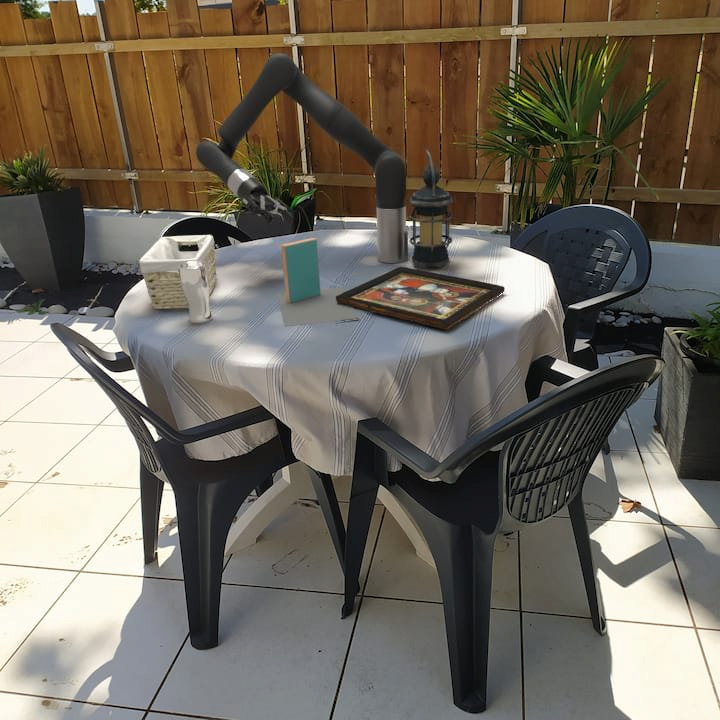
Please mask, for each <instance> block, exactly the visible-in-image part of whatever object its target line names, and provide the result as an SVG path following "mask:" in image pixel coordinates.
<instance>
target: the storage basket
mask: <svg viewBox="0 0 720 720" xmlns="http://www.w3.org/2000/svg"><path fill="white" fill-rule="evenodd" d="M194 245H195V246H196V245H197V248H198V250H196V251H193V250H192V251H180V249H179V246H194ZM215 248H216V247H215V240H214V236H213V235H212V234H202V235H201V234H200V235H199V234H197V235H196V234H195V235H176V236H162V237H160V238H159V239H158V240H157V241H156V242H155V243H154V244H153V245H152V246H151V247H150V249H149V250H147V252H146V253H144V255H143V256H141V258H140V259H139V261H138V262H139V267H140V272H141V274H142V276H143V279H144V282H145V287H146V289H147V294H148V296H149V298H150V301H151V305H152V308H153V309H155V310H163V309H165V310H169V309H189V307H188V304H187V301H186V298H185V295H184V292H183V289H182V286H181V280H180V270H179V265H180V264H182V263H184V262H189V261H203V262H205V265H206V269H207V273H208V279H209V296H211V293H212V292H213V289H214V287H215V285H216V283H217V281H218V280H219V279H218V277H217V276H218V275H217V267H216V258H215V253H216V251H215V250H216V249H215Z"/></svg>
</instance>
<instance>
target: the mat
mask: <svg viewBox="0 0 720 720" xmlns="http://www.w3.org/2000/svg"><path fill="white" fill-rule="evenodd" d="M343 292H346V290H345V289H344V287H336V288H335V287H334V288H324V289H323V288H322V289H320V293H321V295H318V296H315V297H311V298H307V299H304V300H300V301H297V302H293V303H288V302H286V292H285V293H277V294H276V295H277V300H278V305H279V309H280V312H281V317H282V321H283V322H282V323H283V327H293V326H302V325H303V326H304V325H309V324H310V325H312V324H317V323H318V324H319V323H320V324H321V323H328V322H329V323H331V322H338V321H345V320H353V319H359V316H358V314H357V312H356V310H355V307H353V306H349V305H345V304H341V303H338V302H337V301H336V296H338V295H340V294H342V293H343ZM359 320H360V319H359Z"/></svg>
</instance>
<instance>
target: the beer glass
mask: <svg viewBox="0 0 720 720" xmlns="http://www.w3.org/2000/svg"><path fill="white" fill-rule="evenodd" d="M179 270H180V280H181V286H182V289H183V292H184V295H185V298H186V301H187V304H188V307H189V308H188V314H189V315H188V321H189V323H191V324H196V323H198V324H199V323H200V324H205V322H206V323H208V322H210V321H212V319H213V318H214V317H213V314H212V311H211V308H210V302H209V301H210V295H209V279H208V273H207V269H206V265H205V262H203V261H189V262H184V263H182V264H180V265H179ZM198 324H197V325H198Z"/></svg>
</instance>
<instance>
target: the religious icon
mask: <svg viewBox="0 0 720 720" xmlns="http://www.w3.org/2000/svg"><path fill="white" fill-rule="evenodd" d="M503 292H504V293H505V286H503V285H498V284H494V283H490V282H484V281H479V280H475V279H471V278H470V279H469V278H464V277H459V276H453V275H447V274H444V273H443V274H441V273H438V272H431V271H427V270H421V269H416V268H411V267H405V266H399V267H397V268H393V269H391V270H390V271H387V272H385V273H383V274H381V275H378V276H377V277H375V278H373V279H370V280H368V281H366V282H364V283H361V284H360V285H359V284H358V286H355V287H353V288H350V289H348V290H345V292H343V293H342V294H340V295H338V296H336V301H337V302H338V303H341V304H345V305H349V306H353V308H358V309H361V310H366V311H369V312H373V313H377V314H381V315H385V316H389V317H394V318H398V319H401V320H404V321H409V320H410V321H409V322H413V321H414V323H417V324H421V323H422V325H425V324H426V326H429V325H430V327H433V326H434V327H433V328H437V327H439V328H438V329H441V328H443V329H442V330H449V329H451V328H452V327H453V325H454V326H456V325H457V324H459V323H461V322H462V321H464V320H465V319H467V318H468V317H470V316H472V313H473V312H474V313H476V312H477V311H478V310H480V309H481V308H480V307H482V306H483V305H484V306H486V305H487V304H486V303H487V302H489V301H490V300H492V299H494V298H496V297H497V296H499V295H500V294H501V293H503ZM504 293H503V294H504ZM500 296H501V295H500ZM500 296H499V297H500ZM497 298H498V297H497ZM497 298H496V299H497ZM494 300H495V299H494ZM492 301H493V300H492ZM489 303H490V302H489ZM485 304H486V305H485ZM484 306H483V307H484ZM483 307H482V308H483ZM479 308H480V309H479ZM477 309H478V310H477ZM476 310H477V311H476ZM475 311H476V312H475ZM474 313H473V314H474ZM469 315H470V316H469ZM466 317H467V318H466ZM463 319H464V320H463ZM461 320H462V321H461ZM458 322H459V323H458ZM456 323H457V324H456ZM455 324H456V325H455ZM450 327H451V328H450Z"/></svg>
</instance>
